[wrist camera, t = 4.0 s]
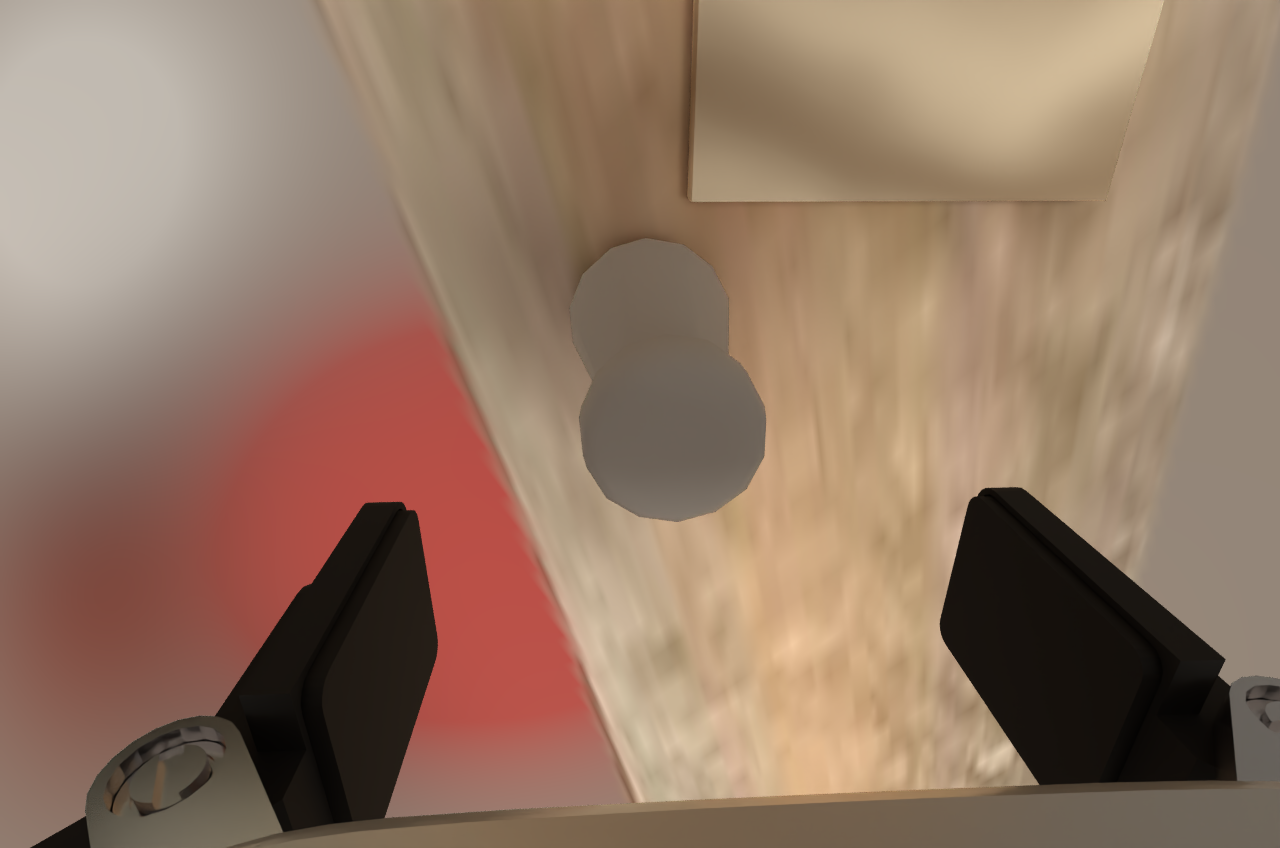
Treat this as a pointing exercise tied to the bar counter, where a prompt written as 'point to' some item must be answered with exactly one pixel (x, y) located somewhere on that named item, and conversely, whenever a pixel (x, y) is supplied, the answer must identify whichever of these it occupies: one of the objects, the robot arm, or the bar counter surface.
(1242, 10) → the bar counter surface
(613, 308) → the salt shaker
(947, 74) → the serving board
